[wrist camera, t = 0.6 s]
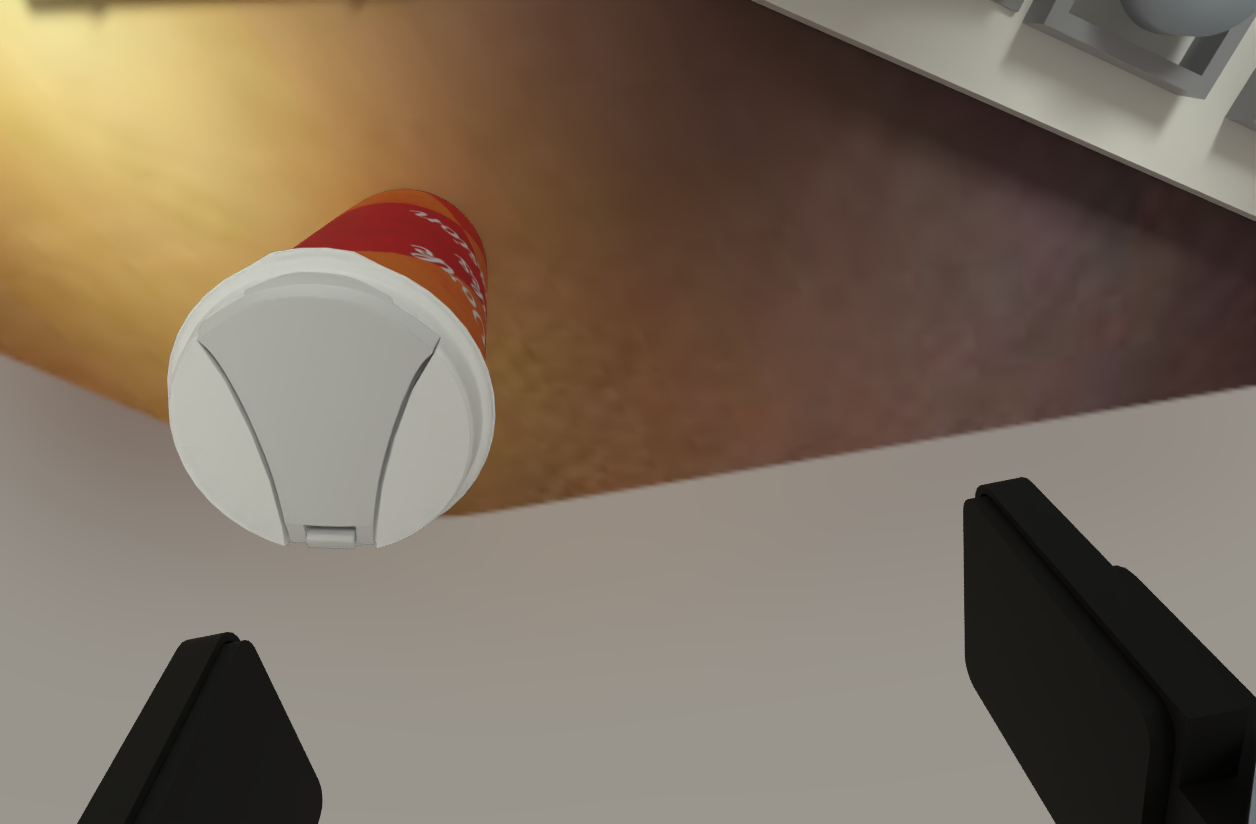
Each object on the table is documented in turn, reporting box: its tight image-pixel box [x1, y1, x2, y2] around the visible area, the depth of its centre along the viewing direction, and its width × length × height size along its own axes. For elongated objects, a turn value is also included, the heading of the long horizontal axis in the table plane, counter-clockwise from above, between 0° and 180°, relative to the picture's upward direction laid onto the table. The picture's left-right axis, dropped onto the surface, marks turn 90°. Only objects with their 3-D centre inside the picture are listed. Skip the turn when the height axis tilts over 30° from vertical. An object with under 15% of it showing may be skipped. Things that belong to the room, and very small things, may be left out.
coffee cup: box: [167, 189, 496, 549], centre depth 28 cm, size 8×8×15 cm
